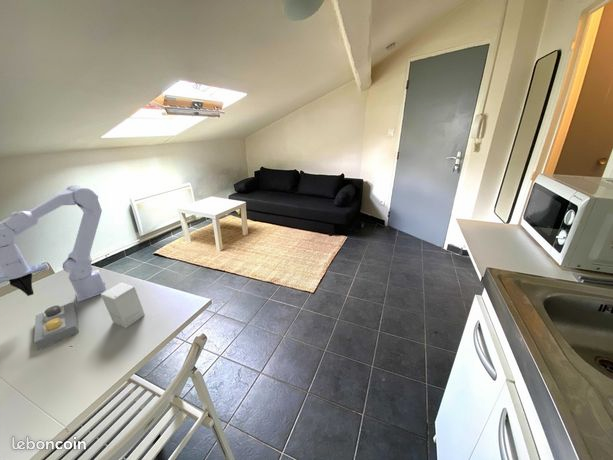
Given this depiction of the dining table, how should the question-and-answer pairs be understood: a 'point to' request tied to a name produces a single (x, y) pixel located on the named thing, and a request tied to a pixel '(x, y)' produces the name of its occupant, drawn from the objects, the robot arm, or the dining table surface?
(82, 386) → the dining table surface
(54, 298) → the dining table surface
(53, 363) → the dining table surface
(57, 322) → the knob
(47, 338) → the mount plate
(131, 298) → the supplement box
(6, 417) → the dining table surface
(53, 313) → the knob
